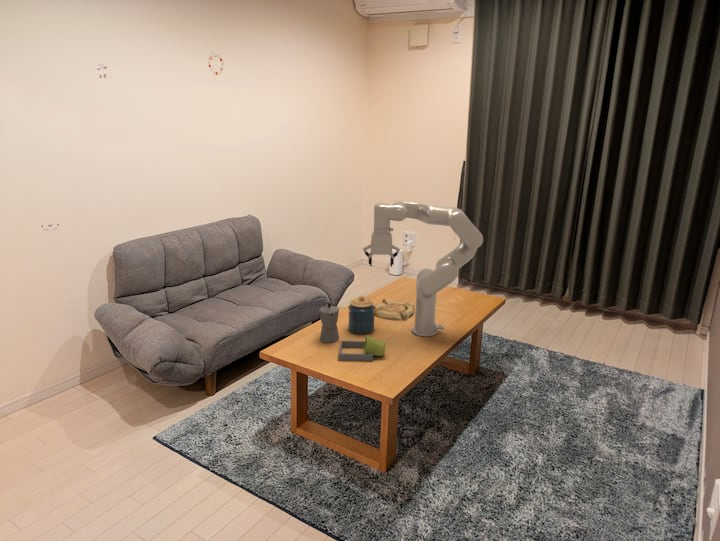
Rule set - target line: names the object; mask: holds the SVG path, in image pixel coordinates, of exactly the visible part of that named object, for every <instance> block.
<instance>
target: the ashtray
mask: <svg viewBox="0 0 720 541" xmlns="http://www.w3.org/2000/svg"><path fill="white" fill-rule="evenodd" d="M374 306H375V305H374ZM415 308H416V304H415V303H414V302H410V301H409V302H408V301H407V302H404V301H389V300H388V299H386V298H384V299H382V300H381V302H380V303H378V304H377V305H376V306H375V309H374V313H375V315H374V317H375V316H376V317H377V318H379V319H383V320H388V321H391V320H392V321H399V322H402V321H407V320H408V319H409V317H410V316H411V315H414V314H415V313H416V310H415Z"/></svg>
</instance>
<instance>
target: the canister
mask: <svg viewBox="0 0 720 541" xmlns="http://www.w3.org/2000/svg"><path fill="white" fill-rule="evenodd" d="M347 307H348V310H349V311H348V313H347V314H348V326H347V327H348V330H349V332H351V333H352V334H357V335H369V334H371V333H372V332H374V330H375V325H376V324H375V313H374V309H375V305H374V302H373V301H372V300H371V299H370V298H367V297H365V296H364V295H360V296H359V297H356V298H353V299H352V300H350V302H349V305H348V306H347Z"/></svg>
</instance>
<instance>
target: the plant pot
mask: <svg viewBox="0 0 720 541" xmlns="http://www.w3.org/2000/svg"><path fill="white" fill-rule="evenodd" d="M364 341H365V344H364V348H363V352H362V354H373V357H384V354H385V352H386V342H385V341H382V340H378V339H376V338H373V337H371V336H369V334H366V336H365V340H364Z"/></svg>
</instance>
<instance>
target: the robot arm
mask: <svg viewBox="0 0 720 541" xmlns="http://www.w3.org/2000/svg"><path fill="white" fill-rule="evenodd" d="M406 218H407V219H412V220H417V221H420V222H421V223H424V224H426V225H434V226H435V225H436V226H444V227H450V229H451V230H452V231H453V232H454V234H455V235H456V236H457V237H458V238H459V239H460V240H461V241H460V243H459V245H457V246H456V247H455V248H454V249H453V250H452V251H450V252H449V253H447V254H445V255H444V256H443V257H441V258H440V259H438V261H437V262H436V264H435V269H434V270H433V269H430V268H423V269H421V270H420V271H419V272H418V273H417V275H416V283H415V284H416V291H415V292H416V293H415V294H416V296H415V299H416V300H415V313H414V314H415V318H414V319H415V320H414V325H413V326H412V327H411V333H412V334H414V335H415V336H419V337H433V336H435V335H437V334H438V330H440V331H441V330H445V325H442V324H441V323H440V324H439V323H436V307H437V306H436V304H437V293H439V292H440V291H441V290H443V289H444V288H446V287H448V286H449V285H450V284H451V283H453V282H454V281H455V280H456V279H457V278H458V276H459V269H461V268H462V267H464V265H465V264H467V263H469V262H470V260H472V259H473V257H474V256H475V254H476V253H477V250H478V248H480V247H481V246H482V245H483V242H484V236H483V234H482V233H481V231H480V230H479V229H478V228H477V227H476V226H475V225H474V224H473V222H472V221H471V220H470V219H469V217H468V216H467V215H466V214H465V213H464V211H463V210H462V209H460V208H456V207H450V206H449V207H447V206H437V205H430V204H423V203H417V202H412V201H411V202H410V201H396V202H393V203H392V205H390V204H389V203H384V202H383V203H379V202H378V203H376V204H374V208H373V232H371V238H370V239H371V240H370V244H368V245H367V246H364V247H363V248H362V251H363V253H364V255H366V257H367V258H368V265H369V267H372V265H373V256H374V255H380V256H385V255H386V256H387V255H389V256H390V261H389V262H390V265H389V266H390V267H391V268H392V267H393V265H395V264H394V263H395V262H394V261H395V258H396V257H397V256H398V255H399V253H400V251H401V248H399V247H397V246H395V244H394V245H393V235H392V232H393V231H394V228H393V227H391V221H394V222H403V221H404V220H405V219H406ZM369 249H370V252H368V251H367V250H369ZM393 250H394V253H393Z"/></svg>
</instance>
